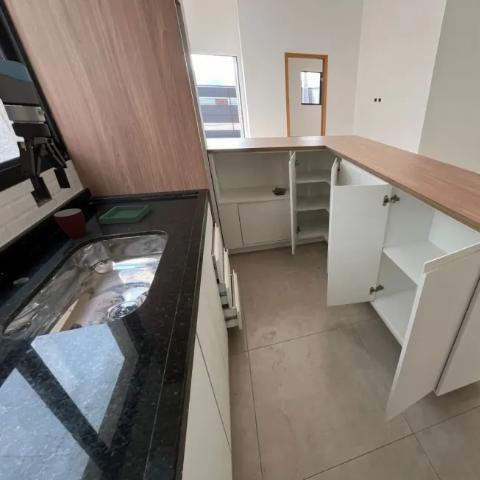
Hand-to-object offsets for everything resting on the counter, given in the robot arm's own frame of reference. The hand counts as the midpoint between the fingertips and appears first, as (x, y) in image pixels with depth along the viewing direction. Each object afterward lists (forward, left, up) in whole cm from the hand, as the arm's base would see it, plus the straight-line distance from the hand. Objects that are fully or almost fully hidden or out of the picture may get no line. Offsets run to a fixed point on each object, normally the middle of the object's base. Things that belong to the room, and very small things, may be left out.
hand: (55, 193), depth 87 cm
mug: (-7, +11, -21) cm, 25 cm away
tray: (+3, +28, -21) cm, 35 cm away
